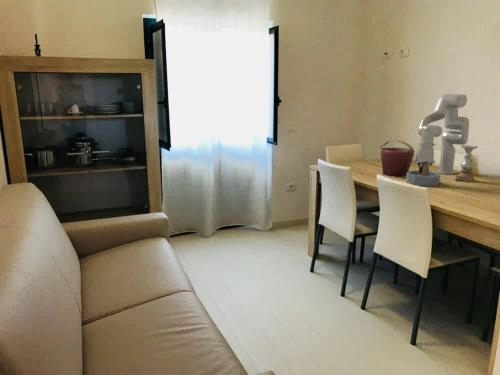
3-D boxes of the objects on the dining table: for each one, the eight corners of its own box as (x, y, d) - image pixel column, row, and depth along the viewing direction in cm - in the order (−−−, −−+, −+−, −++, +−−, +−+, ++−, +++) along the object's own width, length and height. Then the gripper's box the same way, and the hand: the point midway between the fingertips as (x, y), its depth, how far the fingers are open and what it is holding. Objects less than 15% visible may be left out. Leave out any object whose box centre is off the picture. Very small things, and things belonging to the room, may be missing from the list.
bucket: (371, 172, 294) (374, 139, 288) (392, 170, 304) (395, 138, 298) (397, 179, 273) (400, 143, 267) (419, 176, 283) (422, 141, 277)
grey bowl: (402, 179, 272) (403, 170, 271) (432, 180, 270) (433, 170, 269) (411, 185, 253) (412, 176, 251) (443, 186, 251) (444, 177, 249)
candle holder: (473, 179, 272) (478, 145, 266) (473, 182, 263) (478, 147, 257) (456, 178, 277) (460, 144, 272) (455, 181, 268) (459, 146, 262)
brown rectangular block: (418, 178, 264) (420, 161, 261) (423, 178, 264) (425, 161, 261) (421, 180, 258) (423, 162, 255) (426, 180, 258) (428, 162, 255)
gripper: (437, 144, 258) (434, 171, 263) (411, 144, 260) (409, 171, 264) (441, 146, 251) (438, 174, 255) (415, 145, 253) (412, 173, 257)
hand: (423, 172), depth 260 cm, fingers closed on brown rectangular block, 3 cm apart
